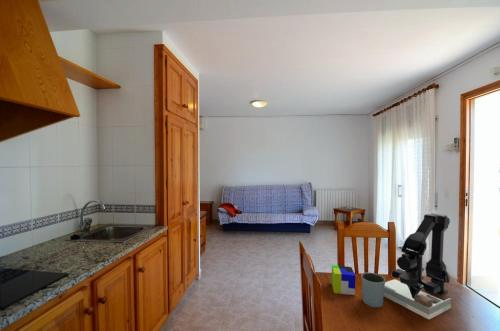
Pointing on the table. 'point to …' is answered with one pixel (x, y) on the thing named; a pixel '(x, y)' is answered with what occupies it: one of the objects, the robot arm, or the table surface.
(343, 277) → the puzzle toy
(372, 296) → the grey cup
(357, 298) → the table surface
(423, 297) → the block
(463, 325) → the table surface
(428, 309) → the tray
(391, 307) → the table surface
